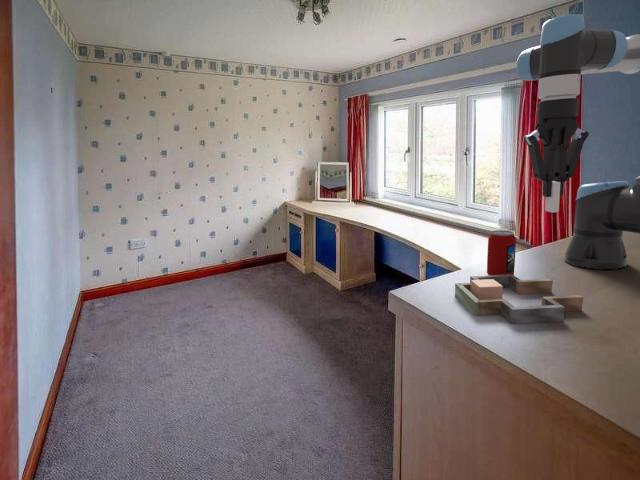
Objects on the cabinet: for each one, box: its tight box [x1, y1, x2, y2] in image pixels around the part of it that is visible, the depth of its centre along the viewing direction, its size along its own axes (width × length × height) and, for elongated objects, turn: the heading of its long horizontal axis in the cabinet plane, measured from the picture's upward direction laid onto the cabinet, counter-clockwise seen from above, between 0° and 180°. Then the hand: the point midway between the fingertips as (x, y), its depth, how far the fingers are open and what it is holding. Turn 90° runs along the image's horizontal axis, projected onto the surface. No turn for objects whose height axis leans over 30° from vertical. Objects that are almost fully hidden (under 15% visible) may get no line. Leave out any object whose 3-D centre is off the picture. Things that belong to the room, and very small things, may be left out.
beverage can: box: [486, 229, 517, 276], centre depth 112 cm, size 7×7×12 cm
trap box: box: [454, 274, 584, 325], centre depth 94 cm, size 23×22×3 cm
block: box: [471, 279, 504, 300], centre depth 94 cm, size 5×5×5 cm
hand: (551, 211), depth 93 cm, fingers closed
